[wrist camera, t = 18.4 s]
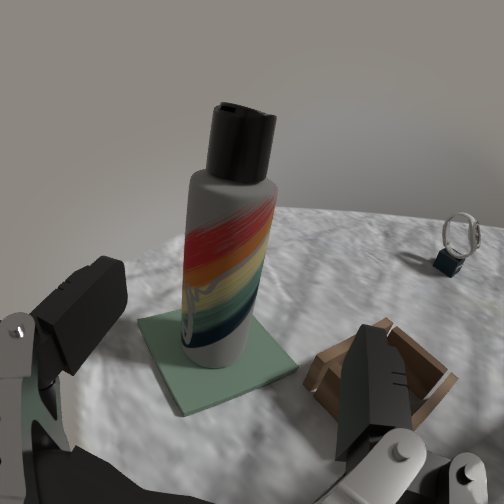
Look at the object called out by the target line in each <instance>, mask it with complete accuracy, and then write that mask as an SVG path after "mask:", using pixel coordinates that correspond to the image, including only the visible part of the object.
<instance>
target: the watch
mask: <svg viewBox="0 0 504 504" xmlns="http://www.w3.org/2000/svg"><path fill="white" fill-rule="evenodd" d="M456 215H463V216H465V217H467V218H468V219H469V220H468V221H469V229H468V237H469V243H470V246H471V251H470V252H471V253H469V254H466V255H462V254H460V253H459V252H457V251H456V250H454V249H452V248H451V247H450V244H449V243H450V237H449V229H450V220H451V219H452V218H453V217H454V216H456ZM442 237H443V245H444V246H445V248H444V249H442V250H440V251H439V253H438V255H437V258H436V260H435V262H434V264H433V266H434V267H436V268H437V269H439V270H440V271H441V272H443V273H444V274H446V275H447V276H449V277H450V278H452V277H453V276H454V275H455V274H457V273H458V272H459V271H460V269H461V267H462V265H463V263H464V261H465V258H467V257H469V256H470V255H472V254H473V253H474V252H475V251H476V250H477V249H479V247H480V240H481V234H480V226H479V223H478V221H475V218H473V217H472V216H471V215H469V214H467V213H456V214H453V215H451V216H449V217H448V218H447V220H446V221H445V223H444V225H443V232H442Z"/></svg>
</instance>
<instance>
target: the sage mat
mask: <svg viewBox="0 0 504 504" xmlns="http://www.w3.org/2000/svg"><path fill="white" fill-rule="evenodd" d="M181 315H182V309H180V310H176V311H172V312H167V313H163V314H159V315H155V316H151V317H146V318H142V319H138V325H139V328H140V330H141V332H142V335H143V337H144V339H145V341H146V343H147V345H148V348H149V350H150V352H151V354H152V356H153V358H154V360H155V362H156V364H157V366H158V368H159V371H160V373H161V375H162V377H163V378H164V380H165V382H166V384H167V386H168V388H169V390H170V392H171V394H172V396H173V398H174V400H175V401H176V403H177V405H178V407H179V409H180V411H181V412H182V414H183V416H184V417H186V416H189V415H191V414H194V413H197V412H200V411H203V410H205V409H208V408H211V407H213V406H216V405H218V404H221V403H224V402H226V401H229V400H231V399H234V398H236V397H239V396H241V395H243V394H246V393H248V392H251V391H253V390H255V389H258V388H260V387H262V386H265V385H267V384H269V383H271V382H274V381H276V380H278V379H280V378H282V377H284V376H287V375H289V374H291V373H293V372H295V371H297V369H298V367H299V366H298V365H297V364H296V363H295V362H294V361H293V360H292V359H291V358H290V356H289V355H288V354H287V353H286V352H285V351H284V350H283V349H282V348H281V346H280V345H279V344H278V343H277V342H276V341H275V340H274V339H273V337H272V336H271V335H270V334H269V333H268V332H267V331H266V330H265V328H264V327H263V326H262V325H261V324H260V323H259V322H258V320H257V319H256V318H255V317H254V316H253V315H252V319H251V323H250V328H249V332H248V337H247V341H246V345H245V349H244V352H243V354H242V356H241V357H240V359H239V360H238V361H237V362H235V363H234V364H232V365H230V366H227V367H223V368H207V367H203V366H201V365H198V364H196V363H195V362H193V361H192V360H190V359H189V358H188V357H187V355H186V354H185V352H184V350H183V347H182V342H181Z"/></svg>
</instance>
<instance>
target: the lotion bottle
mask: <svg viewBox="0 0 504 504" xmlns="http://www.w3.org/2000/svg"><path fill="white" fill-rule="evenodd" d="M276 119H277V117H276V116H274V115H268V114H266V113H263V112H260V111H258V110H255V109H251V108H248V107H244V106H241V105H237V104H232V103H227V102H221V104H220V105H219V106H216V107H215V108H214V111H213V118H212V124H211V131H210V139H209V148H208V155H207V163H206V169H203V170H200V171H197V172H195V173H194V174H193V175H192V176H191V179H190V184H189V193H188V204H187V217H186V230H185V246H184V263H183V285H182V315H181V342H182V347H183V350H184V352H185V354H186V355H187V357H188V358H189V359H190V360H192V361H193V362H195V363H196V364H198V365H201V366H203V367H207V368H223V367H227V366H230V365H232V364H234V363H235V362H237V361H238V360H239V359H240V357H241V356H242V354H243V352H244V349H245V345H246V341H247V337H248V332H249V328H250V323H251V319H252V314H253V310H254V305H255V300H256V296H257V291H258V286H259V282H260V277H261V272H262V268H263V263H264V258H265V253H266V249H267V244H268V239H269V234H270V229H271V225H272V220H273V215H274V210H275V204H276V199H277V192H278V189H277V186H276V184H275V183H274V182H273V181H271V180H270V179H268V178H266V174H267V170H268V164H269V158H270V153H271V147H272V142H273V136H274V130H275V125H276Z"/></svg>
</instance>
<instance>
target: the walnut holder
mask: <svg viewBox="0 0 504 504" xmlns="http://www.w3.org/2000/svg"><path fill="white" fill-rule="evenodd" d="M392 325H393V322H391V321H390V320H389V319H388V318H387V317H386V318H384V319H383V320H381V321H379V322H377V323H376V324H374V325H372V326H375V327H380V328H384V329H385V330H386V334H388V332H389V330H390V329H391V327H392ZM355 336H356V335H354V336H352V337H350V338H348V339H346V340H345V341H343V342H341V343H339V344H337V345H335V346H333V347H331V348H329V349H327V350H325V351H323V352H321V353H319V354H317V355H316V357H315V359H314V361H313V364H312V366H311V368H310V370H309V372H308V374H307V377H306V379H305V381H304V383H303V385H304V386H305V387H306V388H307V389H308V390H309V391H310V392H311V391H312V390H314V389H316V388H317V390H316V392H315V394H314V397H315V398H316V399H317V400H318V401H319V402H320V403H321V404H322V406H323V407H324V408H325V409H326V410H327V411H328V412H329V413H330V414H331V415H332V416H333V417H334V419H335V420H336V421H337V422H338V421H339V404H340V382H341V369H342V364H343V361H344V358H345V356H346V354H347V352H348V350H349V348H350V346H351V344H352V342H353V340H354V338H355ZM387 340H388V346H392V347H396V348H397V350H398V352H399V353H400V355H401V357H402V358H403V360H404V365H405V372H406V374H405V376H406V378H407V386H408V387H409V388H410V389H411V390H412V391H413V392H414V393H415V394H416V395H417V396H419V397H420V398H421V399H422V400H423V399H424V398H425V397H426V395H427V394H428V393H429V392H430V391H431V390H432V388H433V387H434V386H435V385H436V384H437V382H438V381H439V380H440V379H441V377H442V376H443V375H444V373H445V372H446V371H447V370H448V369H447V368H446V367H445V366H444V365H443V364H441V363H440V362H439V361H438V360H437V359H436V358H434V357H433V356H432V355H431V354H430V353H428V352H427V351H426V350H425V349H424V348H423V347H421V346H420V345H419V344H418V343H417V342H415V341H414V340H413V339H412V338H411V337H409V336H408V335H407V334H406V333H405V332H403V331H402V330H401V329H400V328H399V327H397V326H396V327H395V328H393V329H392V330H391V332H390V334H389V335H388V337H387ZM458 379H459V378H458V377H456V376H455V375H454V374H453V373H452V372H451V373H450V375H449V376H448V377H447V378H446V379H445V381H444V382H443V383H442V384H441V385H440V386H439V388H438V389H437V390H436V391H435V392H434V393H433V394H432V395H431V397H430V398H429V399H428V400H427V401H426V402H425V403H424V404H423V405H422V406H421V407H420V408H419V409H418V411H417V412H416V413H415V414H414V415H413V416H412V417H411V418H412V428H413V432H414V431H415V430H416V429H417V427H418V426H419V425H420V424H421V423H422V422H423V421H424V420H425V419H426V418H427V416H428V415H429V414H430V413H431V412H432V411H433V410H434V408H435V407H436V406H437V405H438V404H439V403H440V401H441V400H442V399H443V398H444V397H445V395H446V394H447V393H448V392H449V390H450V389H451V388H452V386H453V385H454V384H455V383H456V381H457V380H458Z"/></svg>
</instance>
